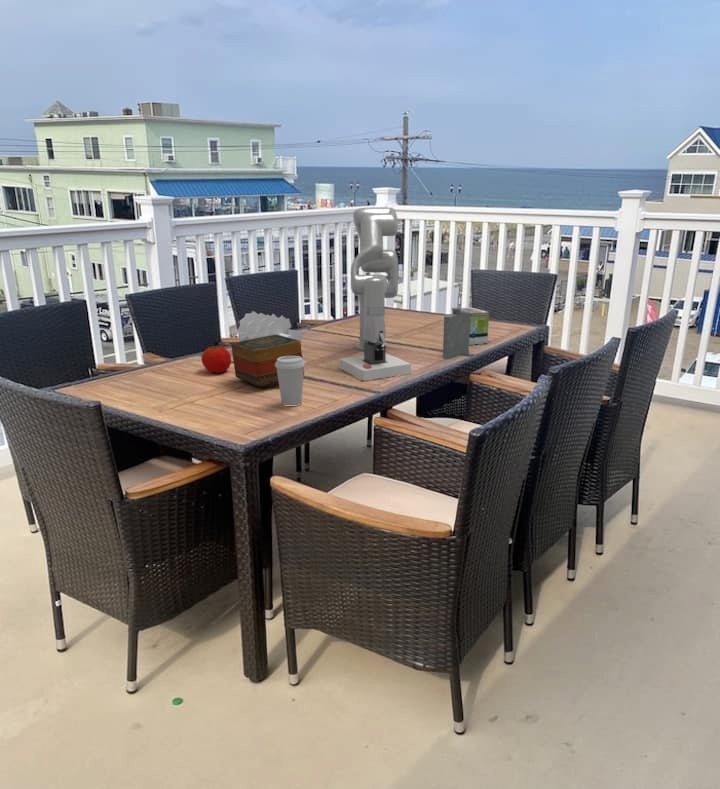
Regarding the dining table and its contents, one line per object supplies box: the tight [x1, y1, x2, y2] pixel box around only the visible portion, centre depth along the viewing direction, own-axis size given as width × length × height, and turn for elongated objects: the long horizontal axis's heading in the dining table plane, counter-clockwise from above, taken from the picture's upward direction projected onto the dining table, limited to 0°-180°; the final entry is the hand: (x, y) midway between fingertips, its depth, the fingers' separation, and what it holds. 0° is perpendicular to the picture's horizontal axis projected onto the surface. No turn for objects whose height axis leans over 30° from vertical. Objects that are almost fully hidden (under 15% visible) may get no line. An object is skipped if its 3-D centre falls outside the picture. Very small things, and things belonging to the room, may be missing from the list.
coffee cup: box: [275, 356, 306, 405], centre depth 195 cm, size 10×10×15 cm
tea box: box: [460, 306, 490, 346], centre depth 278 cm, size 15×10×15 cm, turn 22°
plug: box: [363, 341, 387, 365], centre depth 231 cm, size 6×6×8 cm
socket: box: [339, 353, 412, 381], centre depth 232 cm, size 20×20×5 cm
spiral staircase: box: [236, 310, 304, 343], centre depth 258 cm, size 18×18×25 cm
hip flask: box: [442, 307, 470, 360], centre depth 253 cm, size 16×4×20 cm, turn 136°
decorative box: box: [230, 335, 305, 388], centre depth 219 cm, size 20×22×16 cm
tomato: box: [201, 345, 232, 374], centre depth 234 cm, size 11×13×10 cm
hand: (374, 357), depth 231 cm, fingers closed on plug, 6 cm apart
